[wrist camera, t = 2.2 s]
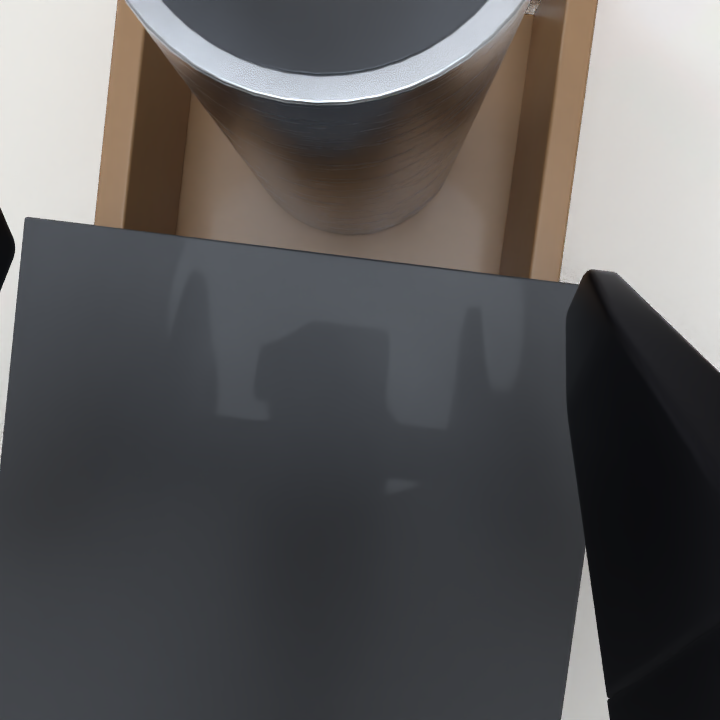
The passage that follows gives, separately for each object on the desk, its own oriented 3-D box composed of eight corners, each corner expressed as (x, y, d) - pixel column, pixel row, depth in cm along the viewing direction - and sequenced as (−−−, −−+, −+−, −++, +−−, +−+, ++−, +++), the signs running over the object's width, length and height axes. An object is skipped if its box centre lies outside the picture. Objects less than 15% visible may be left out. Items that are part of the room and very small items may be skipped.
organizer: (135, 254, 21) (23, 216, 15) (541, 304, 21) (623, 289, 14) (90, 676, 22) (-38, 830, 15) (483, 729, 22) (534, 910, 15)
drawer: (193, -206, 20) (130, -396, 15) (594, -162, 20) (673, -340, 15) (133, 346, 21) (53, 350, 16) (518, 395, 21) (567, 415, 15)
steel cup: (490, 190, 19) (648, -4, 8) (289, 266, 19) (181, 175, 8) (416, -15, 19) (476, -498, 8) (214, 64, 19) (1, -300, 8)
